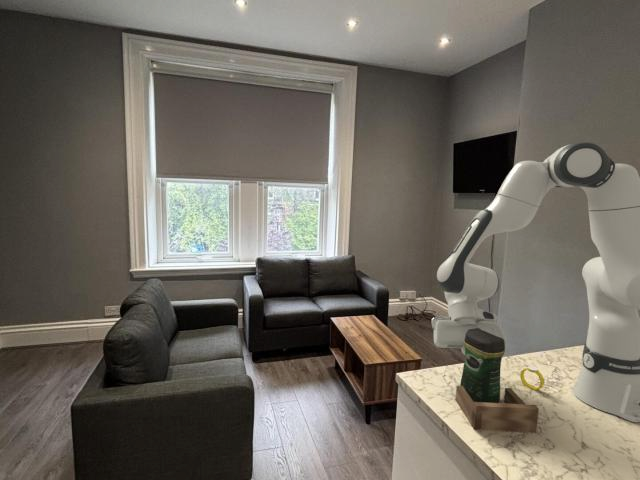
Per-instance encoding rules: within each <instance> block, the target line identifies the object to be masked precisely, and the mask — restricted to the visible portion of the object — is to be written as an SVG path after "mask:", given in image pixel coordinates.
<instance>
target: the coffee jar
mask: <svg viewBox="0 0 640 480" xmlns="http://www.w3.org/2000/svg"><path fill="white" fill-rule="evenodd" d="M464 346H465V355H464V361H463V367H462V372H461V373H462V374H461V379H460V385H459V386H463V388H464V389H465V390H466V392H467V393H468V395H469V396H470V398H471V399H472V400H473V402H485V403H501V401H500V400H501V367H502V366H501V365H502V360H503V357H504V355H505V352H506V347H505V341H504V339H503V338H500V337H497V336H495V335H493V334H490V333H488V332H486V331H483V330H481V329H480V328H474V329H469V330H468V331H467V332H466V335H465V339H464Z"/></svg>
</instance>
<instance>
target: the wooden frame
mask: <svg viewBox="0 0 640 480" xmlns="http://www.w3.org/2000/svg"><path fill="white" fill-rule="evenodd" d="M455 401H456V403H457V405H458V406H459V408H460V410H461V411H462V413H463V414H464V416H465V418H466V419H467V421H468V423H469V424H470V425H471V427H472V429H473V431H490V432H491V431H493V432H512V433H514V432H515V433H516V432H517V433H533V434H534V433H535V434H536V433H537V430H538V428H537V427H538V421H539V420H538V419H539V413H540V408H539V407H538V406H537V405H536V404H528V403H525V401H524V400H523V399H522V398H521V397H520V396H519V395H518V394H517V393H516V392H515V391H514V390H513V388H512V387H504V397H503V402H499V403H485V402H473V400H472V399H471V398H470V396H469V395H468V393H467V392H466V390H465V389H464V388H463V386H460V385H456V390H455Z"/></svg>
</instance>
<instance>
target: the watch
mask: <svg viewBox="0 0 640 480" xmlns="http://www.w3.org/2000/svg"><path fill="white" fill-rule="evenodd" d="M525 371H529V373H530V372H531V373H535V374H536V375H537V377H538V378H539V386H538V387H535V386H534V385H532V384H529V383H528V382H527V381H526V378H525ZM519 377H520V381H521V382H522V384H523V386H525V387H527V388H530V389H532V390H534V391H539V390H541V389H542V388H543V387H544V385H545V379H544V376H543V374H542V373H541V372H540V369H539V368H538V367H536V366H532V365H528V366H527V367H525V368H523V369H521V371H520V375H519Z"/></svg>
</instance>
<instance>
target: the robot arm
mask: <svg viewBox="0 0 640 480" xmlns="http://www.w3.org/2000/svg"><path fill="white" fill-rule="evenodd" d="M577 187H579V188H581V189H582V190H583V191H584V193H585V195H586V199H587V207H588V208H587V209H588V218H589V228H590V237H591V241H592V242H593V244H594V245H595V247H596V249H597V251H598V253H599V255H600V256H596V257H593V258H591V259H589V260H588V261H586V262H585V264H584V266H583V267H582V270H581V271H582V272H581V275H582V278H583V281H584V283H585V287H586V294H587V302H588V303H587V304H588V313H589V315H588V316H589V317H588V319H589V320H588V328H587V336H586V342H585V343H584V345H583V349H582V356H581V357H582V363H581V367H580V370H579V374H578V376H577V378H576V381H575V383H574V385H573V387H572V388H571V390H572V393H573V394H574V396H575V397H577V399H579V400H580V401H582V402H584V403H585V404H587V405H588V406H591V407H593V408H596V409H597V410H600V411H602V412H606V413H609V414H612V415H615V416H616V417H617V416H618V417H620V418H622V419H625V421H629V422H632V423H640V315H639V310H640V174H639V173H638V170H637V169H636V167H634V166H632V165H631V164H626V163H615V161H613V160H612V159H611V157H609V155H608V154H607V152H606V151H605V150H604V149H603V148H602V147H601V146H599V145H598V144H596V143H593V142H589V141H578V142H573V143H571V144H567V145H565V146H562V147H560V148H558V149H556V151H554V152H552V153H551V154H549V155H548V156H547V157H545V158H544V159H543V160H542V161H536V160H523V161H519V162H517V163H516V164H514V166H513V167H512V169H511V170H510V171H509V172H508V174H507V175H506V176H505V178H504V180H503V182H502V183H501V186H500V188H499V189H498V191H497V194H496V195H495V197H494V199H493V201H491V203H490V204H489V205H488V206H487V207H486V208H485V209H482V210H479V211H478V212H476V214H475V216H473V218H472V219H471V220H470V222H469V224H468V225H467V226H466V228H465V229H464V231H463V232H462V234H461V235H460V237H459V239H458V240H457V242H456V243H455V245H454V246H453V248H452V250H451V251H450V253H448V255H447V256H446V258H444V260H443V261H442V262H441V263H440V265H439V266H438V268H437V269H436V276H435V277H436V278H435V279H436V281H437V283H438V285H439V287H440V289H442V291H443V293H444V298H445V300H446V302H447V313H448V316H437V315H436V316H435V317H433V318H431V321H430V322H431V328H432V329H433V343H434V345H435V346H436V347H437V348H443V349H444V348H445V349H448V348H449V349H461V353H462V354H463V355H464V356H465V346H464V339H465V335H466V332H467V331H468V330H469V329H474V328H480V329H481V330H483V331H486V332H488V333H490V334H493V335H495V336H497V337H500V338H503V339H504V341H505V348H506V347H507V345H508V342H507V337H506V335H505V332H504V330H503V327H502V326H501V325H500V324H499V322H497V321H498V316H497V314H496V313H493V312H490V311H487V310H484V309H482V308H479V307H478V302H482V301H486V300H488V299H491V298H492V297H494V296H495V295H496V294H497V292H498V290H499V289H500V278H499V275H498V273H497V272H496V271H495V270H494V269H492V268H489V267H485V266H482V265H479V264H474V263H470V261H471V259H472V257H473V256H474V255H475V252H476V251H477V249H478V248H479V246H480V245H481V243H482V242H483V241H484V240H485V239H486V238H488V237H489V236H492V235H496V234H500V233H508V232H509V233H510V232H515V231H516V232H517V231H518V230H522V229H523V228H525V227H527V226H528V225H529V224H530V223H531V222H532V220H533V219H534V217H535V216H536V214H537V211H538V210H539V207H540V205H541V204H542V201H543V198H544V197H545V196H546V194H547V193H548V192H549V191H550V190H551V189H553V188H568V189H569V188H577Z"/></svg>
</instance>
